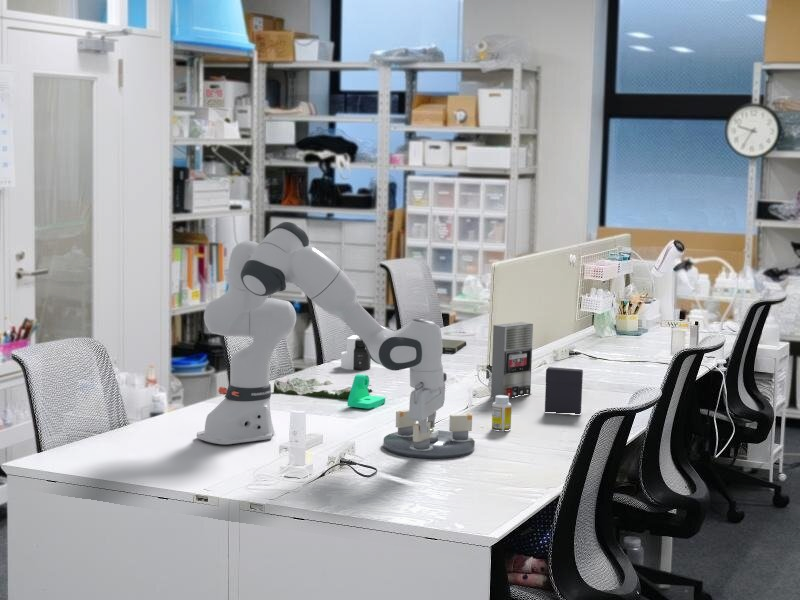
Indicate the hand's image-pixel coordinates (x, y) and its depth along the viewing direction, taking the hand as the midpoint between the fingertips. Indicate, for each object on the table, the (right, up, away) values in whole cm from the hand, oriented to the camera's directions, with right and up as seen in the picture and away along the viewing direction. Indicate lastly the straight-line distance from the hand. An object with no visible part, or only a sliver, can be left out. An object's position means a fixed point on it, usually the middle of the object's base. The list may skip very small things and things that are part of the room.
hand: (427, 430), depth 314 cm
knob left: (-2, -4, 0) cm, 5 cm away
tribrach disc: (+1, -6, +9) cm, 11 cm away
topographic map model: (-29, +4, +88) cm, 93 cm away
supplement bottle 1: (-22, +8, +119) cm, 121 cm away
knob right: (+9, -3, +11) cm, 15 cm away
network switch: (+7, +13, +164) cm, 165 cm away
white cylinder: (-25, +9, +121) cm, 124 cm away
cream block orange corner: (-6, -2, +15) cm, 16 cm away
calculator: (+43, -2, +52) cm, 68 cm away
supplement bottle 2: (+22, -4, +31) cm, 39 cm away
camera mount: (-18, 0, +59) cm, 62 cm away
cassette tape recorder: (+30, +2, +77) cm, 82 cm away
